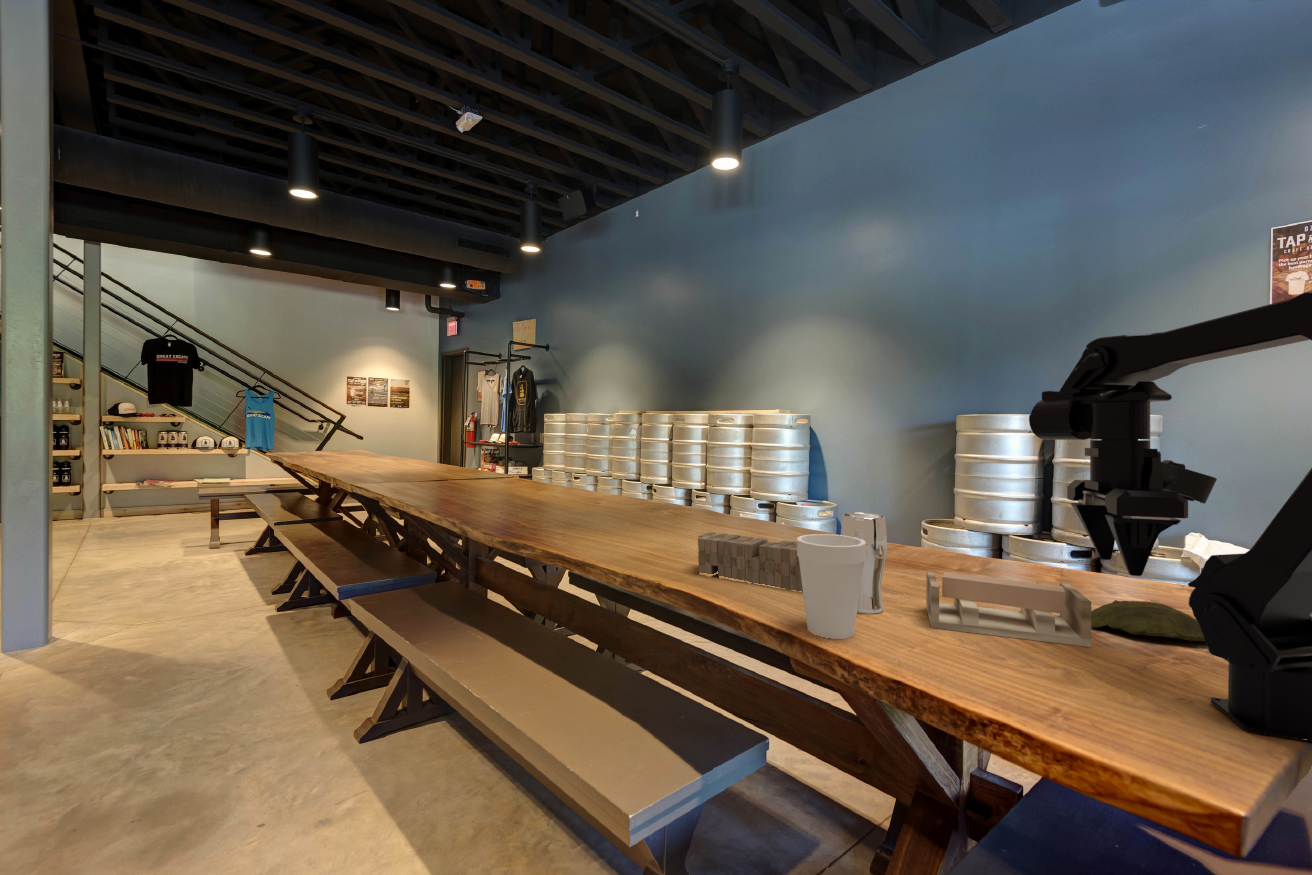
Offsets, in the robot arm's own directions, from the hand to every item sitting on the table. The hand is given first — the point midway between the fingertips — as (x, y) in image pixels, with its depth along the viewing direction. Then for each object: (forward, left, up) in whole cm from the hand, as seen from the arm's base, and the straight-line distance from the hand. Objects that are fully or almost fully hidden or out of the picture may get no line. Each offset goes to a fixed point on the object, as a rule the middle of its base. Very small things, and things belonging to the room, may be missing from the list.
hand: (1119, 566), depth 69 cm
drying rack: (+10, +11, -12) cm, 19 cm away
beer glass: (+11, +30, -12) cm, 34 cm away
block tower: (+22, +47, -12) cm, 54 cm away
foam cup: (-2, +34, -12) cm, 36 cm away
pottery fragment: (+17, -8, -13) cm, 23 cm away
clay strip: (+10, +11, -8) cm, 17 cm away
